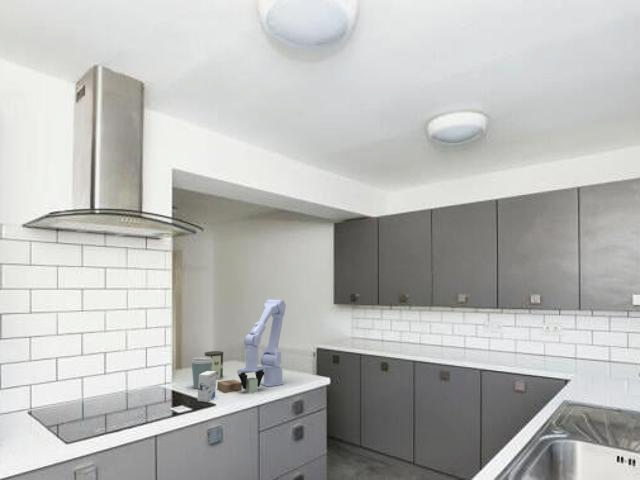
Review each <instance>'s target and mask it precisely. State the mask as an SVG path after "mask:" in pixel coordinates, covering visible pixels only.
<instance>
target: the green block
mask: <svg viewBox="0 0 640 480" xmlns="http://www.w3.org/2000/svg"><path fill="white" fill-rule="evenodd" d="M258 388H259V387H258V379H256V377H247V380H246V389H244V392H246V393H248V394H251V393H257V392H258V390H259V389H258Z"/></svg>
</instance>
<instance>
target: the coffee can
mask: <svg viewBox="0 0 640 480" xmlns="http://www.w3.org/2000/svg"><path fill="white" fill-rule="evenodd" d="M204 357H208V358H212V360H213V362H212V366H211V371H216V381H219V380H223V379H224V374H223V373H224V372H223V371H224V351H220V350H218V351H217V350H214V351H213V350H212V351H206V352H204Z"/></svg>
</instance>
